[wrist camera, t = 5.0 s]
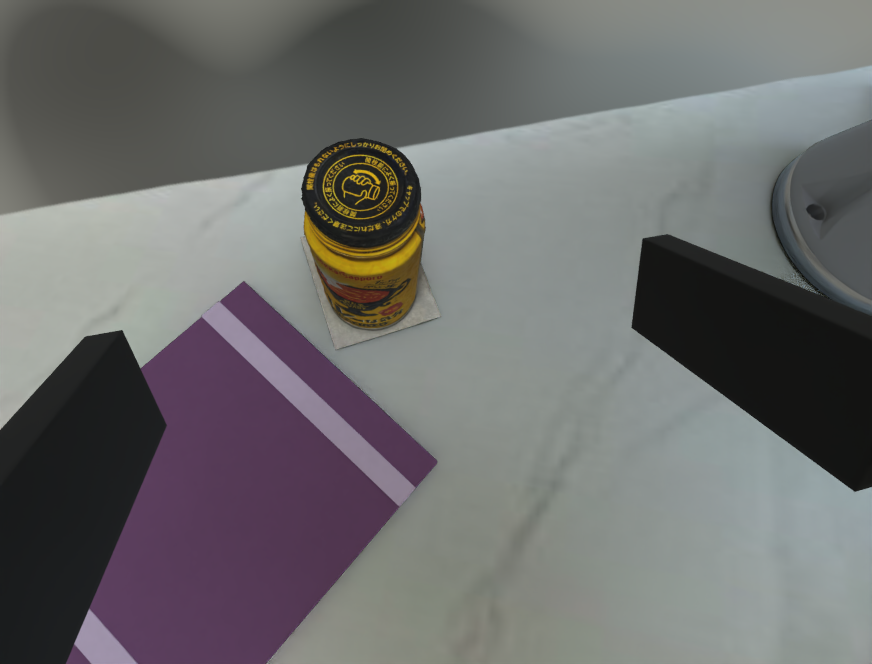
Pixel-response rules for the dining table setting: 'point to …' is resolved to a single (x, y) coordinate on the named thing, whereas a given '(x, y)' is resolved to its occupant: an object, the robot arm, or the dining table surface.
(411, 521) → the dining table surface
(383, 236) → the condiment
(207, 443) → the towel
